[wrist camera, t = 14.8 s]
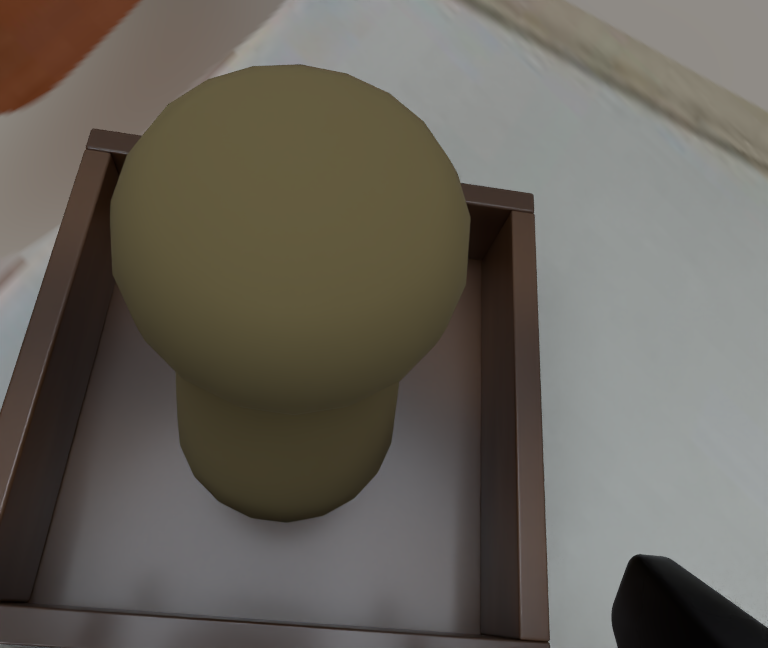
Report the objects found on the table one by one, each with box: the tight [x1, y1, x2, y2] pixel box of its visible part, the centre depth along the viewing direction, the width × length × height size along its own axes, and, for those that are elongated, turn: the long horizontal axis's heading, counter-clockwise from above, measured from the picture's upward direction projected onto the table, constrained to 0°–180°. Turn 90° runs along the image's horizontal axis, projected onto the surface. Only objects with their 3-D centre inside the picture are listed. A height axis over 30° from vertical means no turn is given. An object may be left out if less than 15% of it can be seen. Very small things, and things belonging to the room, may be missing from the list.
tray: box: [0, 129, 550, 648], centre depth 17 cm, size 12×12×4 cm
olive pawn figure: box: [110, 64, 470, 523], centre depth 13 cm, size 6×6×11 cm
